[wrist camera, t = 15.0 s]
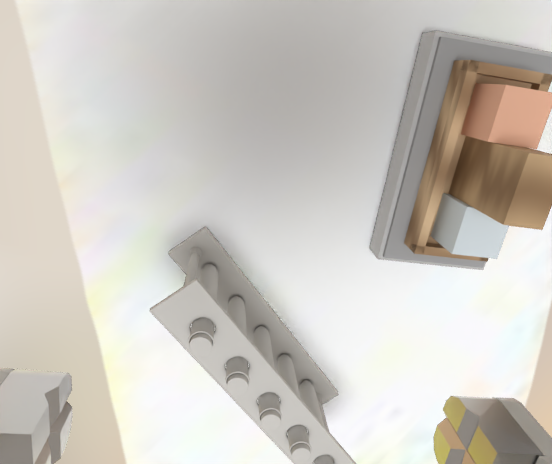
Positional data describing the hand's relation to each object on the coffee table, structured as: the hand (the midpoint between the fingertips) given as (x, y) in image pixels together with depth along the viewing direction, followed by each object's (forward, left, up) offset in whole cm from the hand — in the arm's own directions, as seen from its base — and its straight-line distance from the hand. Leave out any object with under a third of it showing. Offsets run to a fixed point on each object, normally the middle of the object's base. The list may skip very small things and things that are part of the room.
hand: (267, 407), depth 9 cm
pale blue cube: (+2, +19, -27) cm, 33 cm away
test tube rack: (+18, +4, -32) cm, 37 cm away
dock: (-2, +19, -31) cm, 37 cm away
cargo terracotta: (-7, +19, -27) cm, 34 cm away
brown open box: (-2, +19, -28) cm, 34 cm away
